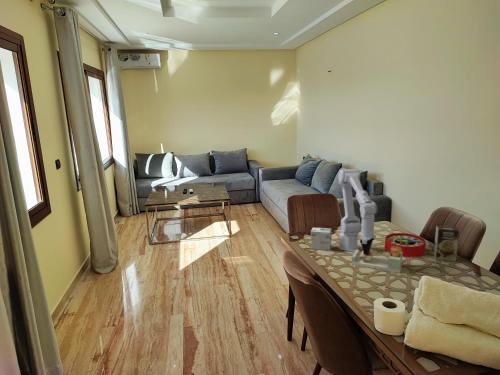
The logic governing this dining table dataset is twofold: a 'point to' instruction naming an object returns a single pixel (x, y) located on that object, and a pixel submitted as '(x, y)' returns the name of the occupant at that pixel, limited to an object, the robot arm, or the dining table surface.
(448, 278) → the dining table surface
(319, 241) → the light bulb box
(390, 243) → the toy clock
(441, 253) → the coffee box
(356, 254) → the rail
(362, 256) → the carriage
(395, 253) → the button
